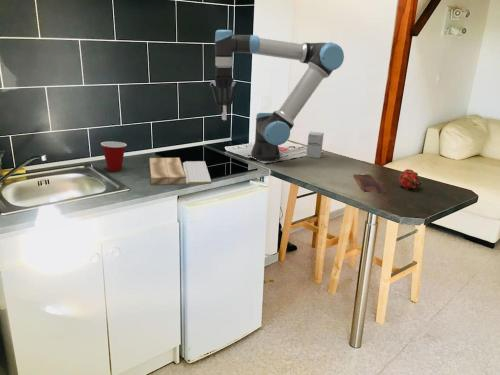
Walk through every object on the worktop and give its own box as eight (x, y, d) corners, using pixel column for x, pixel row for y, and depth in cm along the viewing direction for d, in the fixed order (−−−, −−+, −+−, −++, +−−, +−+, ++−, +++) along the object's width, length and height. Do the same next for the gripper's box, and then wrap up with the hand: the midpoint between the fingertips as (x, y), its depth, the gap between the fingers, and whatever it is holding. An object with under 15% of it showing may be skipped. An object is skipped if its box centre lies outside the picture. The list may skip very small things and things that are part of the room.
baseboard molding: (182, 185, 176) (211, 185, 178) (182, 178, 175) (211, 178, 177) (179, 164, 204) (204, 164, 207) (179, 158, 203) (204, 158, 206)
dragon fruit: (404, 186, 192) (412, 199, 181) (390, 175, 190) (398, 187, 179) (418, 172, 189) (427, 185, 178) (405, 161, 186) (413, 173, 176)
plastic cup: (131, 170, 189) (130, 144, 185) (108, 174, 183) (106, 147, 179) (122, 164, 197) (120, 139, 193) (98, 168, 191) (96, 141, 187)
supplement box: (305, 157, 226) (308, 133, 222) (307, 154, 233) (310, 131, 229) (319, 158, 225) (322, 135, 220) (321, 155, 231) (323, 132, 227)
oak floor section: (179, 163, 203) (179, 157, 202) (186, 183, 176) (186, 176, 175) (149, 164, 200) (149, 158, 199) (151, 184, 172) (151, 177, 171)
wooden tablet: (351, 171, 201) (373, 170, 200) (351, 176, 201) (372, 175, 201) (362, 190, 176) (387, 189, 175) (362, 195, 176) (387, 194, 176)
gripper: (235, 66, 195) (235, 117, 203) (207, 66, 191) (208, 118, 199) (240, 67, 188) (239, 120, 196) (211, 67, 184) (212, 121, 192)
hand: (224, 119), depth 197 cm, fingers closed
